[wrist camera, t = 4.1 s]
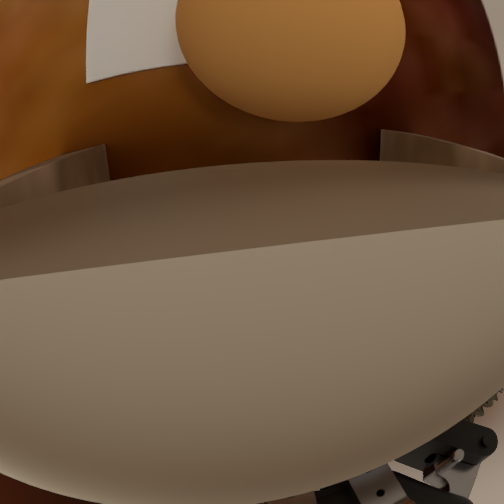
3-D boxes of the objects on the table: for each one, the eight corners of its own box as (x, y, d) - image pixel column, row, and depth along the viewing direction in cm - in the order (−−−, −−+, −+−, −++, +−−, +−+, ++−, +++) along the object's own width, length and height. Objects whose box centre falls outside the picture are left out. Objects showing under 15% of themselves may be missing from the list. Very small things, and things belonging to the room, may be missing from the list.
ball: (178, -117, 1) (152, 140, 4) (445, -50, 2) (442, 160, 5) (190, -28, 6) (183, 112, 9) (345, -10, 7) (337, 118, 10)
